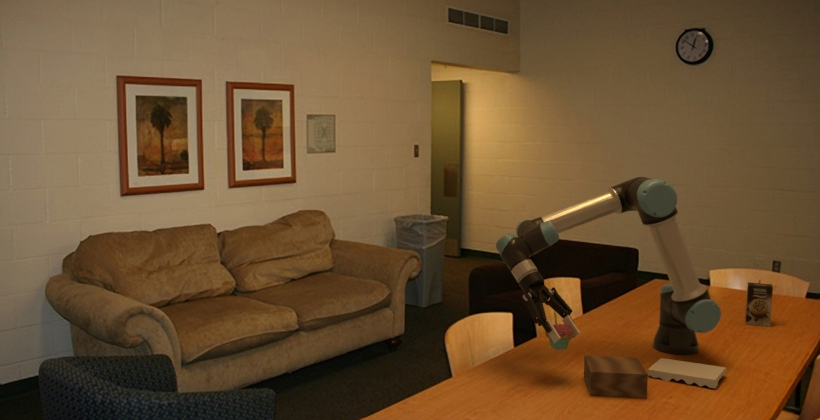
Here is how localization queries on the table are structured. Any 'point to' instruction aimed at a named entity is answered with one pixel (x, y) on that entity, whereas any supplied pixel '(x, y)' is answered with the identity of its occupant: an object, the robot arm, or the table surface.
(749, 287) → the cookie box
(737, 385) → the table surface
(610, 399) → the table surface
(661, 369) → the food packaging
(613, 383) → the riser
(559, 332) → the cupcake
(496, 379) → the table surface
